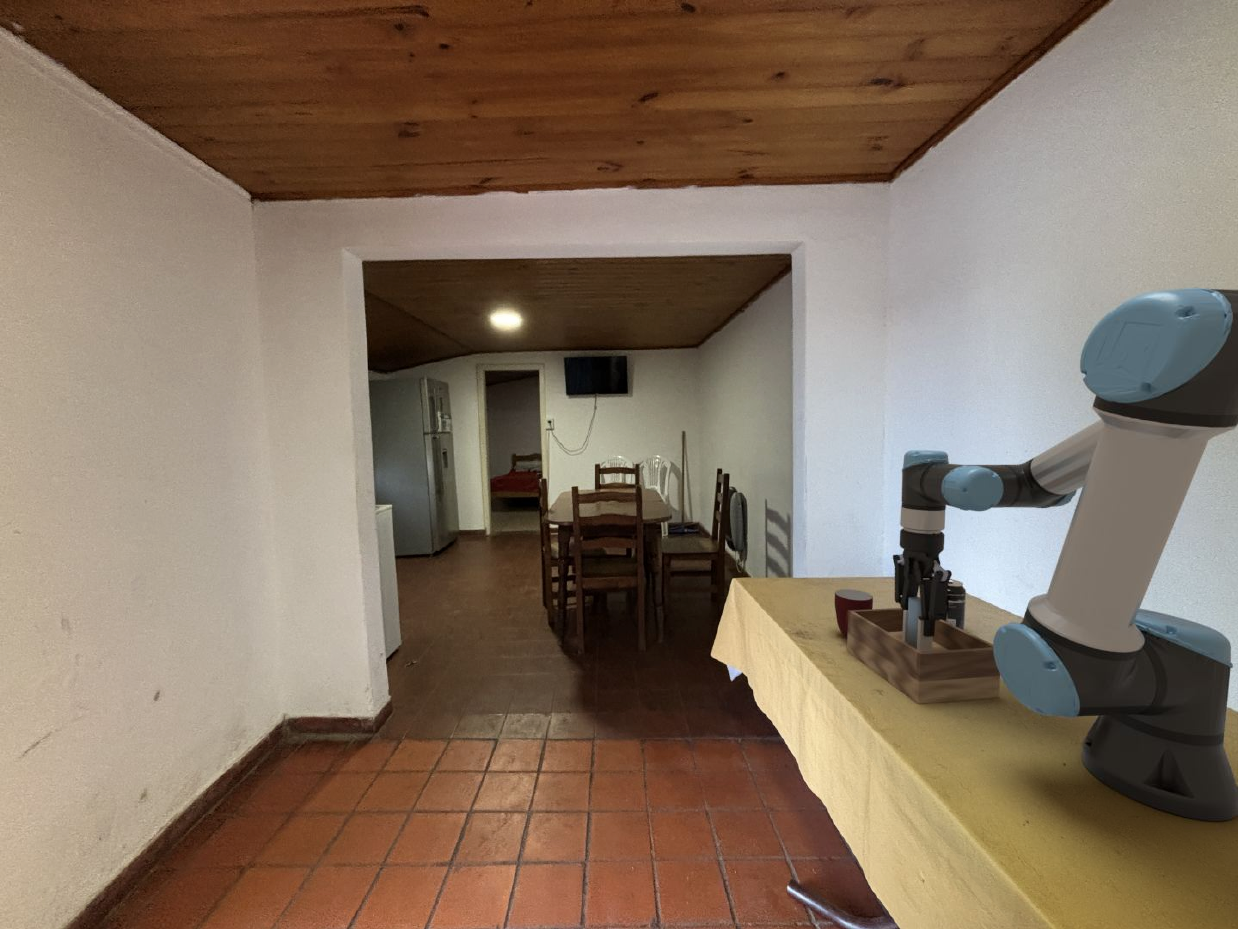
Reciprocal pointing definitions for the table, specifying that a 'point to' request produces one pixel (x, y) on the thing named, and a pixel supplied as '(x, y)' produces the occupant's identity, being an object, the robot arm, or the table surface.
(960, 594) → the beverage can
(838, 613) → the mug
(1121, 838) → the table surface
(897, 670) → the tray box
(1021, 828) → the table surface
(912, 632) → the peg
